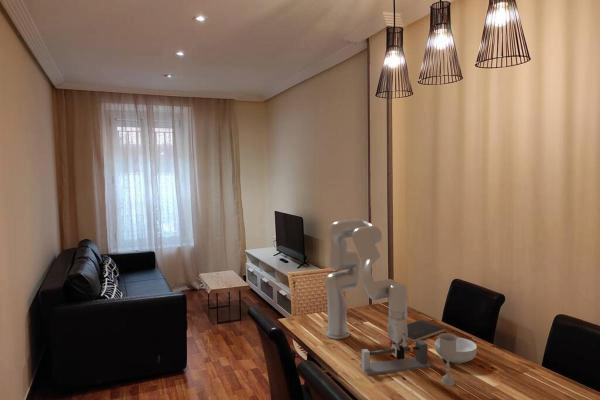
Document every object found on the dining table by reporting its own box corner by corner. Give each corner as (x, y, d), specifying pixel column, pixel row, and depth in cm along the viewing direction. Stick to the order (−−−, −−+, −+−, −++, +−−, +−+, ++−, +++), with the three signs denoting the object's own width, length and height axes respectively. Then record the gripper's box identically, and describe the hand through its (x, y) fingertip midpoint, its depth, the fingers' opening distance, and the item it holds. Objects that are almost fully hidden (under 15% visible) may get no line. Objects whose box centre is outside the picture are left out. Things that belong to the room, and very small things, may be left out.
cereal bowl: (475, 353, 186) (475, 338, 186) (478, 370, 170) (478, 353, 170) (435, 349, 192) (435, 334, 191) (434, 365, 176) (434, 349, 176)
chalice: (435, 378, 165) (435, 333, 164) (452, 377, 165) (452, 332, 164) (443, 387, 158) (443, 341, 156) (460, 386, 158) (460, 340, 157)
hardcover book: (445, 332, 213) (445, 328, 212) (413, 343, 200) (413, 338, 200) (420, 323, 226) (420, 319, 226) (389, 333, 213) (389, 328, 213)
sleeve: (391, 353, 177) (391, 344, 177) (400, 352, 178) (400, 343, 177) (395, 357, 173) (395, 347, 173) (404, 356, 174) (404, 346, 173)
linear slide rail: (359, 366, 176) (359, 345, 176) (421, 359, 182) (421, 338, 181) (366, 375, 168) (366, 353, 168) (430, 367, 174) (430, 345, 174)
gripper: (381, 308, 182) (381, 349, 183) (398, 321, 165) (398, 366, 166) (397, 306, 183) (398, 347, 184) (415, 319, 167) (415, 364, 168)
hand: (398, 356), depth 175 cm, fingers closed on sleeve, 4 cm apart
